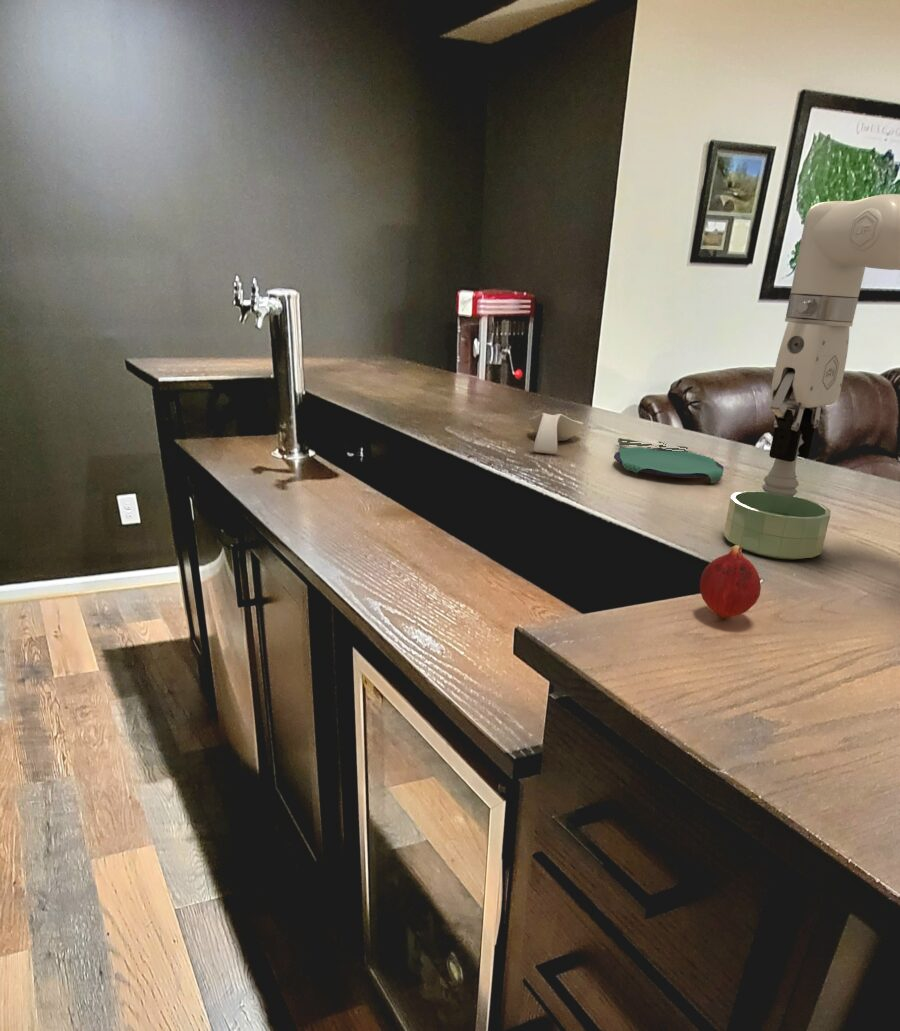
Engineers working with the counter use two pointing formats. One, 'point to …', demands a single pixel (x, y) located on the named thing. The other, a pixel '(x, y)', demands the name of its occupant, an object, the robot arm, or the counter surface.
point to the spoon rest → (552, 431)
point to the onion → (730, 584)
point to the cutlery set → (667, 461)
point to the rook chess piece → (782, 477)
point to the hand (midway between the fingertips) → (789, 456)
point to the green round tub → (776, 525)
